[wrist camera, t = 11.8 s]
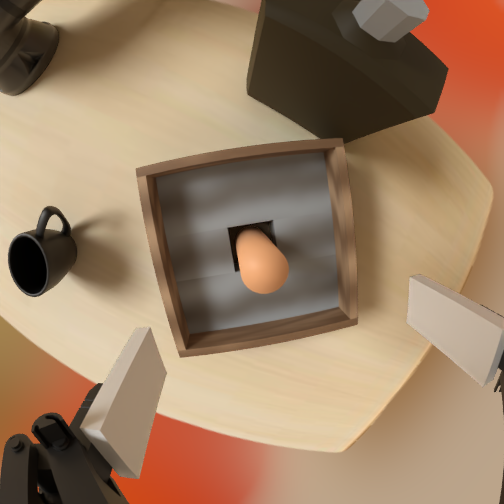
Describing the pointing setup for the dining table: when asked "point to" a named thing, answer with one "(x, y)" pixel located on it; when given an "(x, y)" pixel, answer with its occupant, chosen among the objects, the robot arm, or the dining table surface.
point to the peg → (260, 261)
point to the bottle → (344, 64)
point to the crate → (247, 212)
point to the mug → (42, 255)
